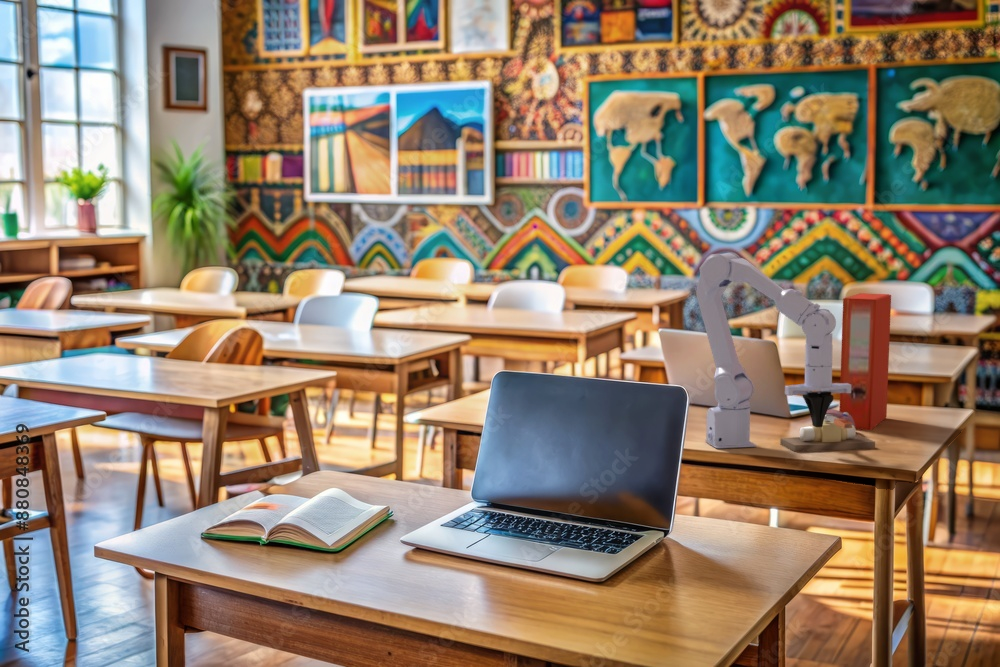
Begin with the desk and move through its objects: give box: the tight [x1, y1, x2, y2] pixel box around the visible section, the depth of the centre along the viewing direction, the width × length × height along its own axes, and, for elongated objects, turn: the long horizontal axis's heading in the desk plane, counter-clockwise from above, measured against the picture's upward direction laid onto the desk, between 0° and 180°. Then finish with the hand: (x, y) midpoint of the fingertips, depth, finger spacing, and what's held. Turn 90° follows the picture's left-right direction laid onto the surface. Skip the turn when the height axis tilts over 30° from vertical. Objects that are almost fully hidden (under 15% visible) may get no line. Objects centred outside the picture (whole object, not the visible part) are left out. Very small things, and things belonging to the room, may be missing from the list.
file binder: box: [838, 292, 892, 431], centre depth 271 cm, size 8×17×32 cm, turn 149°
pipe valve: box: [799, 421, 857, 442], centre depth 246 cm, size 12×4×4 cm, turn 98°
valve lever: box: [824, 414, 852, 428], centre depth 241 cm, size 11×2×2 cm, turn 8°
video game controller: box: [826, 409, 855, 427], centre depth 261 cm, size 10×5×7 cm, turn 62°
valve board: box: [779, 434, 876, 453], centre depth 246 cm, size 19×8×2 cm, turn 98°
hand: (817, 426), depth 238 cm, fingers closed
